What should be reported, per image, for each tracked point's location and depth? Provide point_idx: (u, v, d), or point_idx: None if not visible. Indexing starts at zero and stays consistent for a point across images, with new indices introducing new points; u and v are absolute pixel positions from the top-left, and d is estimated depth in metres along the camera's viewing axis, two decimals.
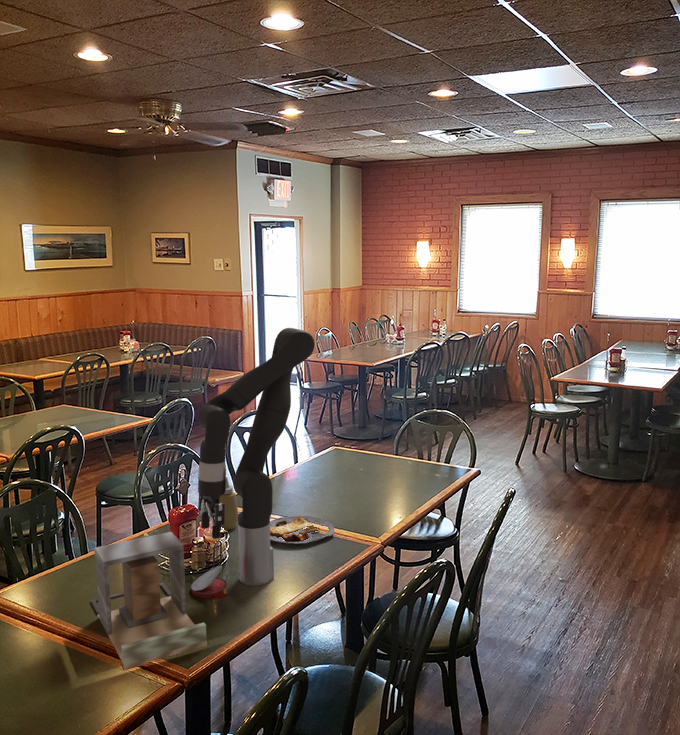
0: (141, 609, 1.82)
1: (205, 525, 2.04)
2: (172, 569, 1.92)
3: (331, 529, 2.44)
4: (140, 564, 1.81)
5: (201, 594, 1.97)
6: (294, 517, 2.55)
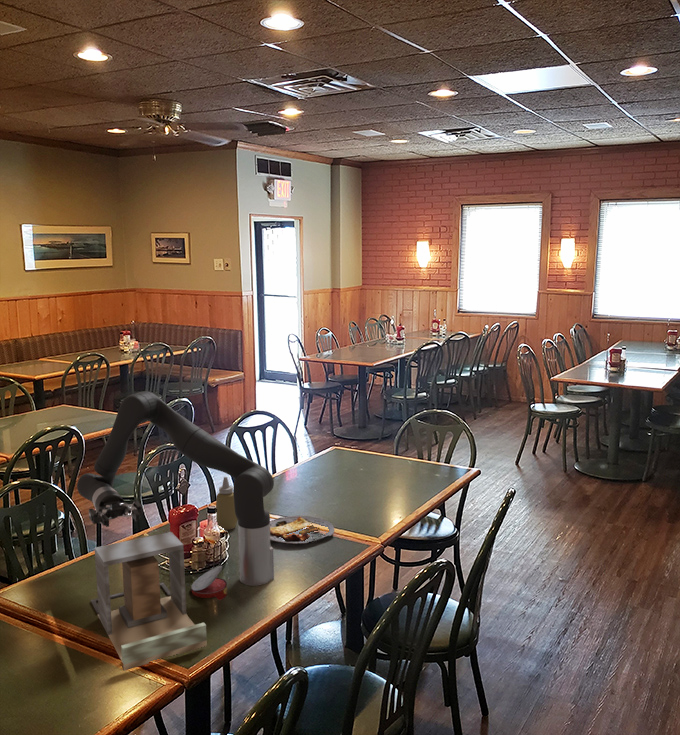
0: (141, 609, 1.82)
1: (135, 517, 1.99)
2: (172, 569, 1.92)
3: (331, 529, 2.44)
4: (140, 564, 1.81)
5: (201, 594, 1.97)
6: (294, 517, 2.55)
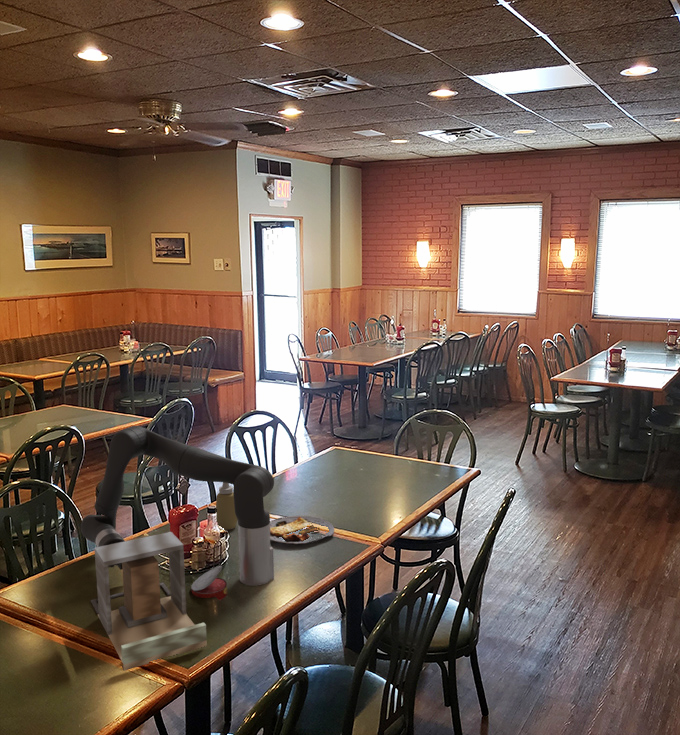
0: (141, 609, 1.82)
1: None
2: (172, 569, 1.92)
3: (331, 529, 2.44)
4: (140, 564, 1.81)
5: (201, 594, 1.97)
6: (294, 517, 2.55)
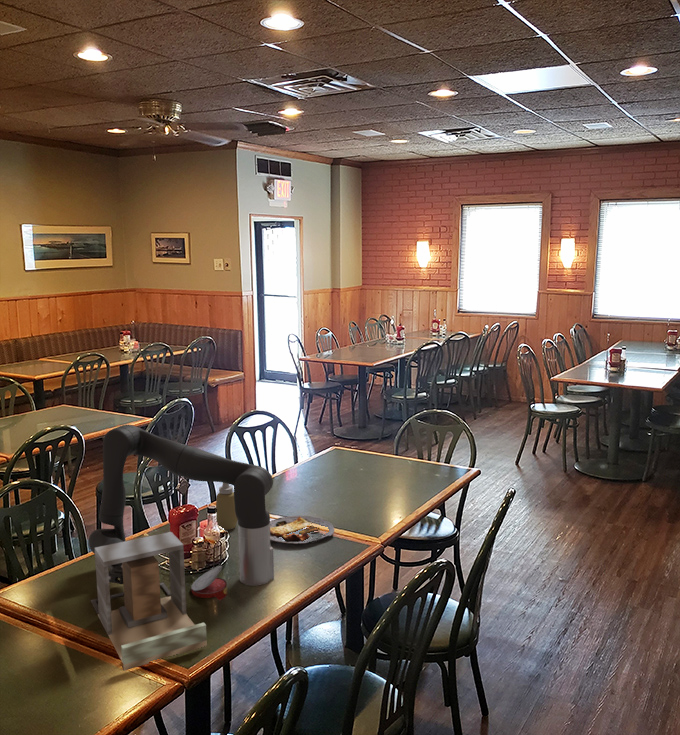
0: (141, 609, 1.82)
1: None
2: (172, 569, 1.92)
3: (331, 529, 2.44)
4: (140, 564, 1.81)
5: (201, 594, 1.97)
6: (294, 517, 2.55)
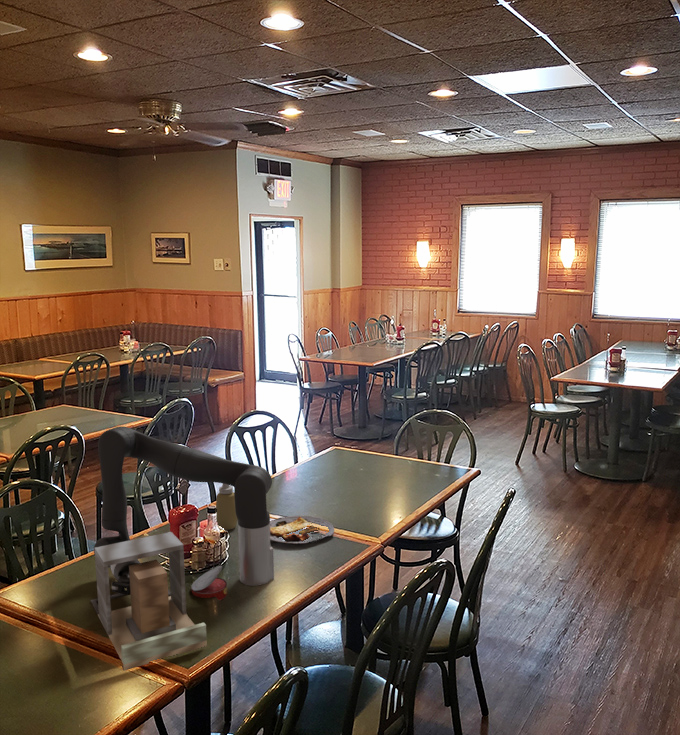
0: (149, 622, 1.76)
1: None
2: (172, 569, 1.92)
3: (331, 529, 2.44)
4: (148, 575, 1.75)
5: (201, 594, 1.97)
6: (294, 517, 2.55)
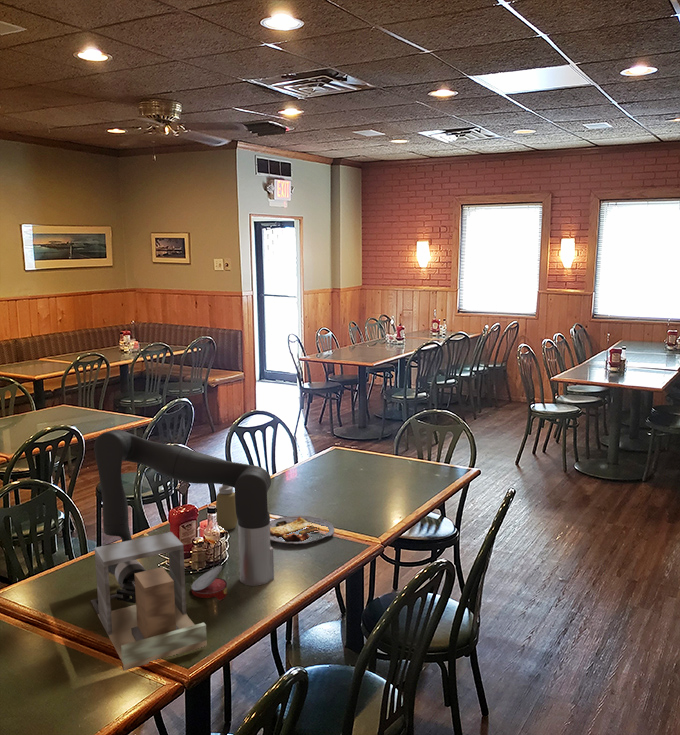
0: (156, 631, 1.71)
1: None
2: (172, 569, 1.92)
3: (331, 529, 2.44)
4: (154, 583, 1.70)
5: (201, 594, 1.97)
6: (294, 517, 2.55)
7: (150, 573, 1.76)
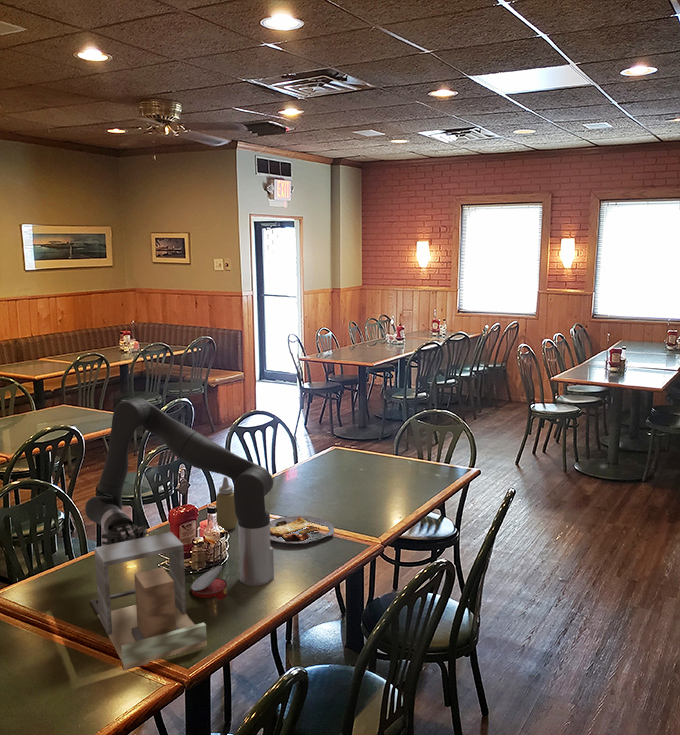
0: (156, 631, 1.71)
1: None
2: (172, 569, 1.92)
3: (331, 529, 2.44)
4: (154, 584, 1.70)
5: (201, 594, 1.97)
6: (294, 517, 2.55)
7: (150, 573, 1.76)
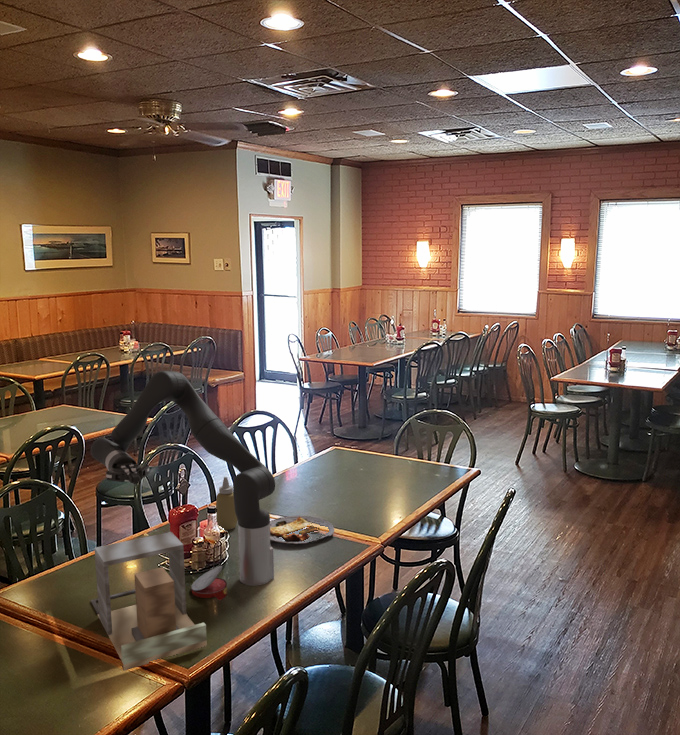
0: (156, 631, 1.71)
1: None
2: (172, 569, 1.92)
3: (331, 529, 2.44)
4: (154, 584, 1.70)
5: (201, 594, 1.97)
6: (294, 517, 2.55)
7: (150, 573, 1.76)
